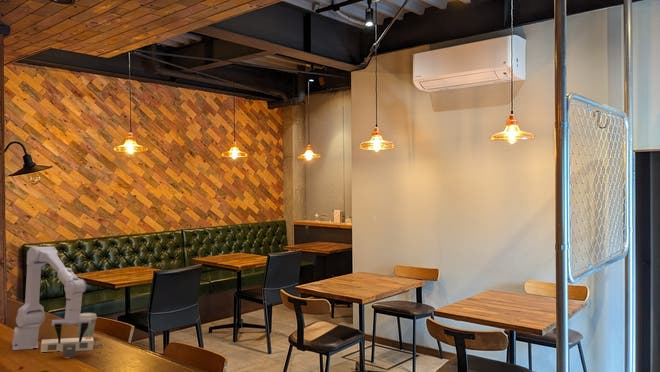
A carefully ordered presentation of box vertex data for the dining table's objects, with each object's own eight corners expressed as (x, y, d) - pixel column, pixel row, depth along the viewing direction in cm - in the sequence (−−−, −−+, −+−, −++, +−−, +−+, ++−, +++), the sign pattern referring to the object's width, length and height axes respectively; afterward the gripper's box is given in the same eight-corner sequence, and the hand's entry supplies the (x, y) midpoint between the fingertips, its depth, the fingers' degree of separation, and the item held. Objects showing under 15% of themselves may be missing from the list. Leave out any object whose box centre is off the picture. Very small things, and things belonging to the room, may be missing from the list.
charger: (62, 358, 201) (63, 346, 202) (62, 355, 206) (63, 343, 206) (74, 358, 204) (75, 345, 204) (73, 354, 208) (75, 342, 209)
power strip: (40, 353, 207) (41, 342, 207) (40, 349, 213) (41, 338, 213) (103, 349, 219) (104, 338, 219) (101, 345, 225) (102, 335, 225)
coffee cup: (86, 343, 227) (89, 316, 228) (70, 341, 228) (73, 314, 229) (98, 339, 235) (101, 313, 236) (83, 337, 237) (85, 311, 238)
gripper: (53, 311, 199) (49, 345, 198) (93, 310, 206) (89, 343, 205) (53, 308, 205) (49, 341, 204) (91, 307, 212) (88, 339, 211)
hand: (69, 342), depth 205 cm, fingers open, 7 cm apart
